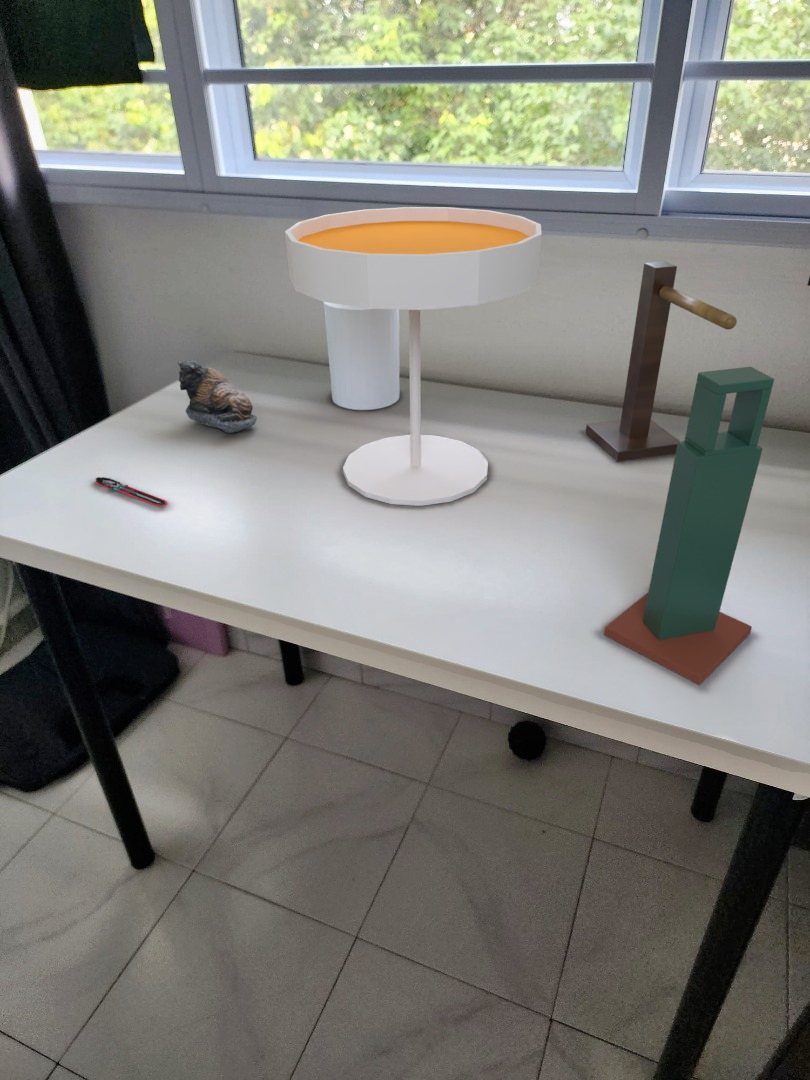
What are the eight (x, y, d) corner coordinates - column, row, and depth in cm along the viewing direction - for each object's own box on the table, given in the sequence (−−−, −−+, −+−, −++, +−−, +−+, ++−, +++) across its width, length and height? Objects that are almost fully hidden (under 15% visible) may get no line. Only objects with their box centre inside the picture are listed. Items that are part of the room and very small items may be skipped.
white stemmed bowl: (568, 491, 97) (598, 236, 80) (358, 548, 86) (342, 268, 70) (456, 412, 120) (461, 200, 103) (279, 450, 109) (252, 220, 92)
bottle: (396, 411, 120) (392, 248, 107) (323, 409, 122) (311, 247, 108) (405, 385, 130) (402, 232, 117) (338, 383, 132) (328, 231, 118)
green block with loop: (714, 630, 72) (781, 378, 58) (658, 641, 70) (713, 386, 57) (697, 611, 74) (757, 365, 61) (642, 621, 73) (691, 372, 59)
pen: (161, 510, 94) (160, 506, 94) (90, 483, 101) (89, 479, 101) (173, 504, 96) (172, 499, 95) (102, 477, 102) (101, 473, 102)
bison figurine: (265, 424, 117) (257, 362, 111) (239, 442, 111) (229, 378, 106) (203, 413, 121) (192, 352, 116) (174, 430, 116) (162, 367, 110)
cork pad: (750, 634, 73) (752, 626, 72) (699, 685, 67) (701, 677, 66) (657, 591, 79) (658, 583, 78) (603, 634, 73) (604, 626, 72)
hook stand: (730, 490, 97) (778, 293, 83) (660, 501, 95) (698, 300, 81) (645, 425, 114) (674, 253, 101) (585, 432, 112) (606, 258, 99)
